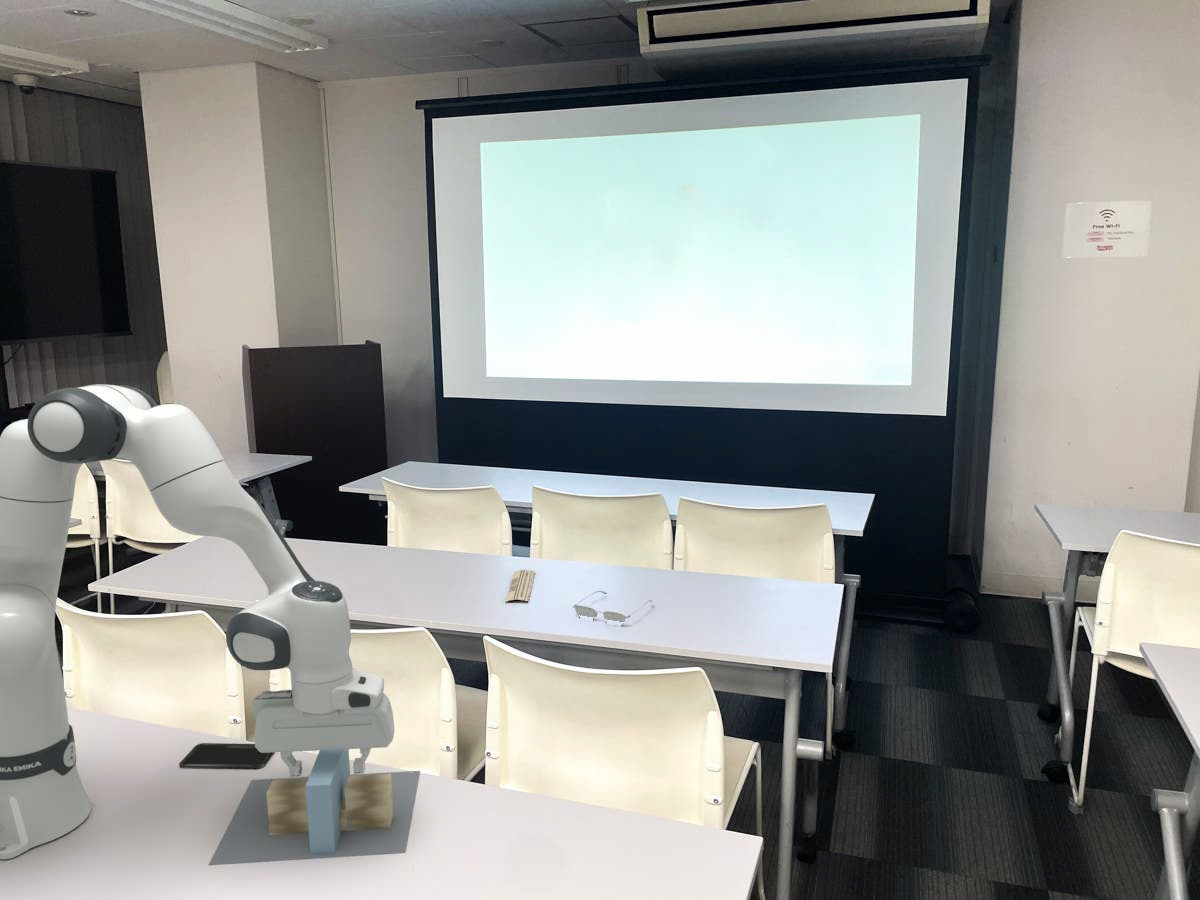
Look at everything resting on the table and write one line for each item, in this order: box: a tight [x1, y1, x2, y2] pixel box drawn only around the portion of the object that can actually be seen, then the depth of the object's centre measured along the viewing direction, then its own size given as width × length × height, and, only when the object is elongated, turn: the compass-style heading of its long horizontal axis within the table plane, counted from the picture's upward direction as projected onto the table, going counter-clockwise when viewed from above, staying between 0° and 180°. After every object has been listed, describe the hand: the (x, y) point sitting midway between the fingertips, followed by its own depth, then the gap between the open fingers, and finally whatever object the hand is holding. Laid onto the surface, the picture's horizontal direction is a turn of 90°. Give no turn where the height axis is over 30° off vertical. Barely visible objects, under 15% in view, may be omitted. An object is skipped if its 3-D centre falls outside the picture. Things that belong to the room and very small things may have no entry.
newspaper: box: [505, 569, 536, 603], centre depth 242 cm, size 24×7×2 cm, turn 0°
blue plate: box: [306, 749, 351, 854], centre depth 136 cm, size 4×14×11 cm, turn 6°
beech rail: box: [266, 774, 393, 835], centre depth 137 cm, size 18×4×7 cm, turn 96°
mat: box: [208, 770, 421, 866], centre depth 140 cm, size 28×22×1 cm
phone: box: [178, 742, 276, 771], centre depth 157 cm, size 8×1×15 cm
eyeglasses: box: [572, 590, 653, 623], centre depth 225 cm, size 15×18×4 cm
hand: (328, 773), depth 136 cm, fingers open, 8 cm apart
